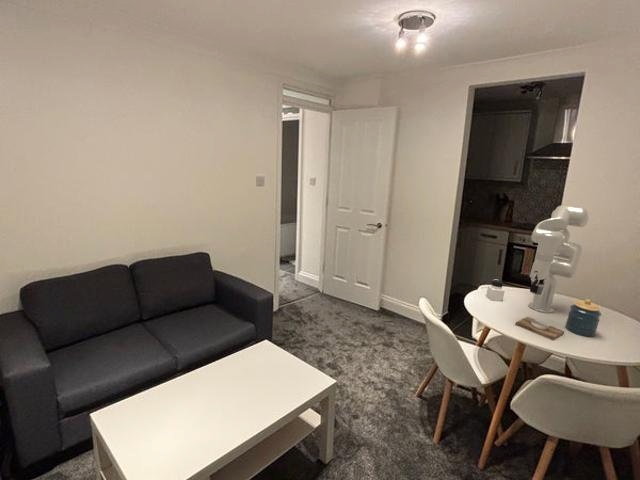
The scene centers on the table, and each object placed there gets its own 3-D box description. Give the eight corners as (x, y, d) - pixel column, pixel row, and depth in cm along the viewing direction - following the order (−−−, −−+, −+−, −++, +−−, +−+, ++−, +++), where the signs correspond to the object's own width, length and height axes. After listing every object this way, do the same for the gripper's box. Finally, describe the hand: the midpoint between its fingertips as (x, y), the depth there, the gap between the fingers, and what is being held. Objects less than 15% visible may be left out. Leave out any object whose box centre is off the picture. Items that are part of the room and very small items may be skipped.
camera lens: (532, 290, 184) (535, 281, 183) (543, 293, 180) (545, 284, 179) (528, 291, 181) (530, 282, 180) (538, 295, 177) (540, 285, 176)
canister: (597, 340, 175) (607, 307, 170) (566, 332, 181) (574, 300, 176) (592, 329, 186) (601, 298, 182) (563, 322, 192) (571, 292, 188)
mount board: (526, 319, 192) (527, 314, 191) (563, 333, 178) (565, 328, 177) (515, 324, 184) (516, 319, 184) (553, 340, 171) (554, 334, 170)
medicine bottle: (502, 301, 215) (506, 283, 212) (490, 300, 215) (494, 282, 213) (497, 296, 222) (500, 278, 219) (485, 295, 222) (489, 278, 219)
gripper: (544, 253, 184) (536, 286, 188) (527, 256, 174) (520, 291, 179) (560, 257, 178) (551, 291, 182) (544, 261, 168) (535, 296, 173)
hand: (536, 290), depth 180 cm, fingers closed on camera lens, 5 cm apart
